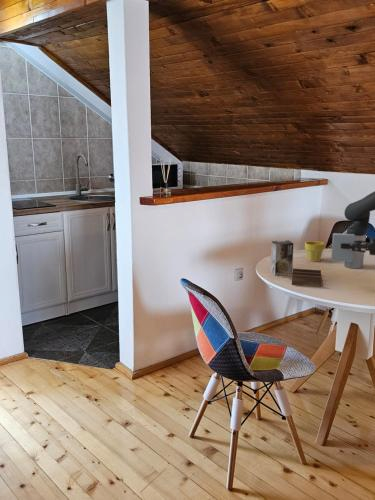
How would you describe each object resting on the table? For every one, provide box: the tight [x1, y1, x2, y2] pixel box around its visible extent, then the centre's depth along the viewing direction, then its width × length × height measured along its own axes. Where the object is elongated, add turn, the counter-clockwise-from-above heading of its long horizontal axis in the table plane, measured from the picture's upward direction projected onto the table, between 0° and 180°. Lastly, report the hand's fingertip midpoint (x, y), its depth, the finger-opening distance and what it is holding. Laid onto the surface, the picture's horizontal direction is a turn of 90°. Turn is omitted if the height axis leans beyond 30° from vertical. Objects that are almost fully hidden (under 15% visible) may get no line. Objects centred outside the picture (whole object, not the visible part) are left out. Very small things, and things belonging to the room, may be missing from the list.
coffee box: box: [270, 239, 294, 277], centre depth 231 cm, size 9×6×16 cm
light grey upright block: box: [330, 232, 355, 262], centre depth 212 cm, size 3×9×12 cm, turn 76°
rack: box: [291, 268, 323, 287], centre depth 219 cm, size 11×13×4 cm
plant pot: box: [304, 240, 326, 263], centre depth 257 cm, size 10×10×10 cm
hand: (340, 245), depth 212 cm, fingers closed on light grey upright block, 3 cm apart
